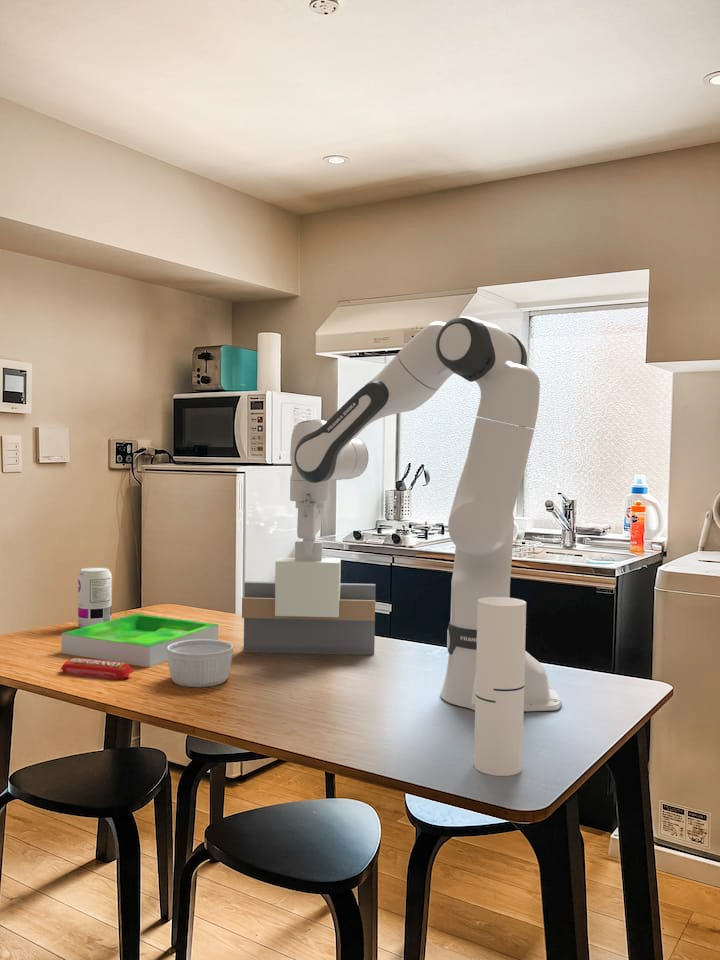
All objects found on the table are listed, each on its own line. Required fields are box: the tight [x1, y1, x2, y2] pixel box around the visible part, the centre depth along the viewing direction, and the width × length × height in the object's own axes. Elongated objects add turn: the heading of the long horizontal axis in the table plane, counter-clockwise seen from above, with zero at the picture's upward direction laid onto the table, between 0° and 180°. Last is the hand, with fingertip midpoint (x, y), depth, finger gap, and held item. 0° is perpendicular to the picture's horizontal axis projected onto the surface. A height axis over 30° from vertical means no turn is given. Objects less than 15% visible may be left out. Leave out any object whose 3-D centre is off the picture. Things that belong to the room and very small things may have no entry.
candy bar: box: [59, 657, 134, 681], centre depth 171 cm, size 16×4×3 cm, turn 73°
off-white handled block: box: [274, 540, 342, 617], centre depth 186 cm, size 14×7×16 cm, turn 89°
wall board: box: [241, 580, 376, 656], centre depth 192 cm, size 30×9×16 cm, turn 89°
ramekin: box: [167, 639, 234, 688], centre depth 168 cm, size 13×13×7 cm
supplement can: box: [77, 566, 113, 629], centre depth 214 cm, size 8×8×15 cm
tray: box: [60, 613, 219, 668], centre depth 193 cm, size 25×25×5 cm
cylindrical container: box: [473, 597, 527, 777], centre depth 124 cm, size 7×7×25 cm
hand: (309, 554), depth 186 cm, fingers closed on off-white handled block
